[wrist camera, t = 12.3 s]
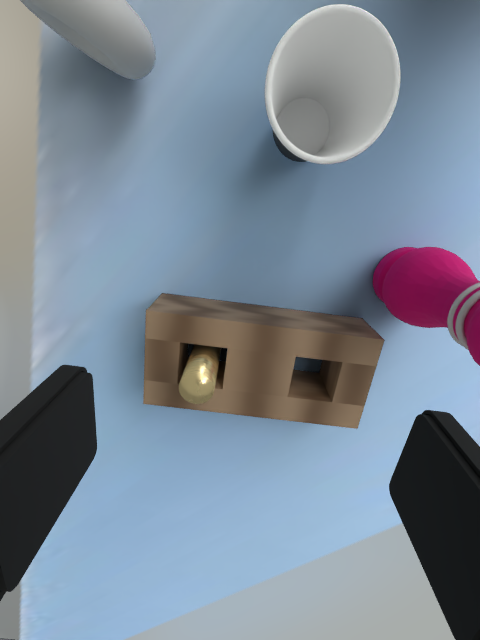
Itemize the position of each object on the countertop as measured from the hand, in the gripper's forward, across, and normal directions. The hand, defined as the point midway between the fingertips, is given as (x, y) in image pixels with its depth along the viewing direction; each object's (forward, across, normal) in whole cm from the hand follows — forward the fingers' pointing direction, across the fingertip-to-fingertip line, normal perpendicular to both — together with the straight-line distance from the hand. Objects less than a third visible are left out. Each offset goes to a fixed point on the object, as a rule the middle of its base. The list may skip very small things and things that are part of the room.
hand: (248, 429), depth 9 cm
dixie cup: (+26, -3, -12) cm, 29 cm away
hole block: (+25, -2, +10) cm, 27 cm away
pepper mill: (+26, -16, 0) cm, 31 cm away
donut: (+26, +14, -16) cm, 34 cm away
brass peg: (+25, +4, +10) cm, 27 cm away
